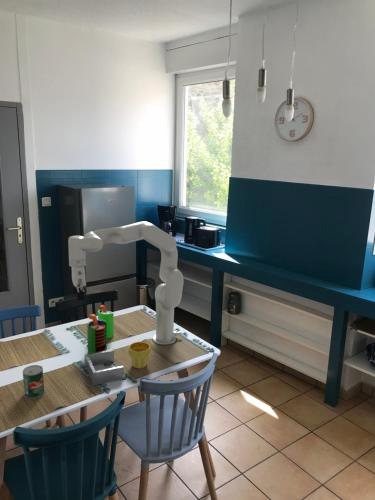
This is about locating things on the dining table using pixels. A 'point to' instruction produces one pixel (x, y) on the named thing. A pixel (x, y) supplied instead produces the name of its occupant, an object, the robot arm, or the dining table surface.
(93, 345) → the motor
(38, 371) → the canned tomato
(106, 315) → the green-shelled ribbed roller
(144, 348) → the plant pot
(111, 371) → the grey open box
